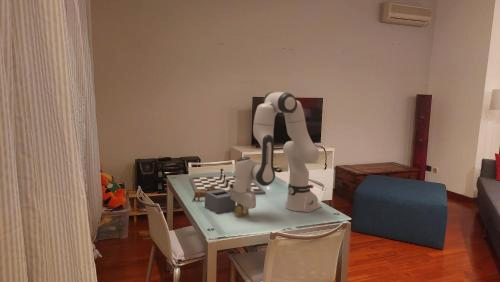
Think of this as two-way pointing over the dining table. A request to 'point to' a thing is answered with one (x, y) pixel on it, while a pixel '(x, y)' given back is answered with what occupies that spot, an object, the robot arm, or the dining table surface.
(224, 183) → the chess set
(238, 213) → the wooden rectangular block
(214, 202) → the money box
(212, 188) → the lion figurine
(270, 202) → the dining table surface
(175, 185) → the dining table surface
